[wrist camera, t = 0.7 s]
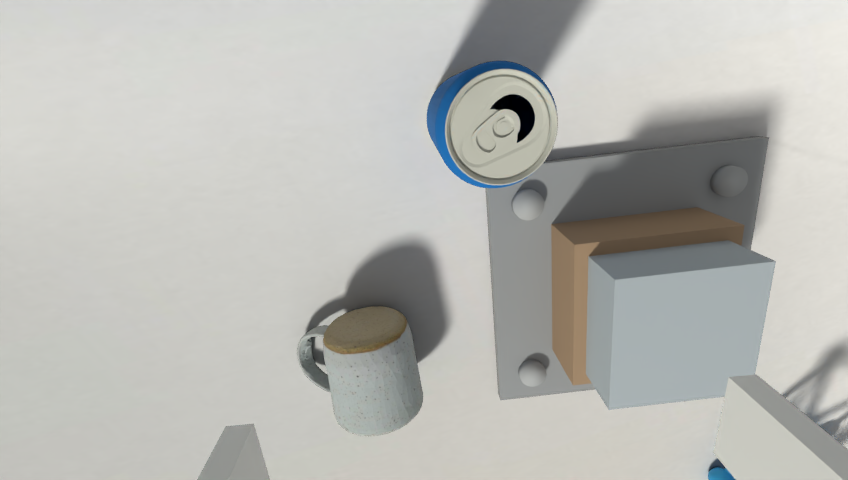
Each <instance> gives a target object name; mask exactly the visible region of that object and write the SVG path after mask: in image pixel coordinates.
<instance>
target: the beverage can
mask: <svg viewBox="0 0 848 480" xmlns="http://www.w3.org/2000/svg"><path fill="white" fill-rule="evenodd" d="M427 127H428V131H429V134H430V137H431V139H432V141H433V142H434V144H435V146H436V148H437V150H438V151H439V153H440V155H441V157H442V159H443V160H444V162H445V164H446V165H447V166H448V168H449V169H450V170H451V171H452V172H453V173H454V174H455V175H456V176H458V177H459V178H460V179H462V180H464V181H465V182H467V183H470V184H472V185H475V186H478V187H483V188H502V187H507V186H511V185H514V184H516V183H519V182H521V181H522V180H524V179H526V178H527V177H529V176H530V175H532V174H533V173H534V172H535V171H536V170H537V169H538V168H539V167H540V166H541V165H542V164H543V163H544V161H545V160H546V158H547V157H548V155H549V154H550V152H551V150H552V148H553V145H554V142H555V139H556V135H557V127H558V118H557V110H556V105H555V102H554V98H553V96H552V94H551V92H550V90H549V88H548V87H547V85H546V84H545V83H544V82H543V80H542V79H541V78H540V77H539V76H538V75H537V74H535V73H534V72H533V71H531V70H530V69H528V68H526V67H524V66H522V65H520V64H517V63H513V62H507V61H492V62H486V63H483V64H479V65H477V66H475V67H472V68H470V69H468V70H466V71H463V72H461V73H459V74H457V75H454V76H452V77H450V78H449V79H447V80H446V81H445V82H443V83H442V84H441V85H440V86H439V87H438V88H437V90H436V91H435V93H434V94H433V96H432V98H431V100H430V103H429V106H428V110H427Z"/></svg>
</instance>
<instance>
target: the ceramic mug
mask: <svg viewBox="0 0 848 480" xmlns="http://www.w3.org/2000/svg"><path fill="white" fill-rule="evenodd" d="M317 336H319V337H324V339H323V354H324V360H325V365H326V369H327V373H328V375H327V374H326V373H324V372H323V371H322V370H321V369H320V368H319V367H318V366H317V365H316V364H315V361H314V360H313V355H312V347H311V345H312V341H311V337H317ZM297 356H298V361H299V365H300V367H301V369H302V371H303V372H304V374H305V375H306V377H307V378H308V379H309V380H310V381H311V382H313V383H314V384H315V385H316V386H318V387H320V388H321V389H323V390H325V391H328V392H331V397H332V404H333V410H334V414H335V417H336V420H337V422H338V424H339V425H340V426H341V427H342V428H343V429H345V430H346V431H348V432H350V433H353V434H356V435H360V436H378V435H383V434H387V433H390V432H393V431H395V430H398V429H400V428H401V427H403V426H405V425H406V424H407V423H409V422H410V421H411V420H412V419H413V418H414V417H415V416H416V415H417V414H418V412H419V410H420V408H421V406H422V402H423V392H422V387H421V381H420V376H419V370H418V365H417V360H416V355H415V350H414V344H413V338H412V333H411V330H410V327H409V325H408V322H407V320H406V318H405V316H404V315H403V314H402V313H400V312H399V311H397V310H395V309H392V308H389V307H384V306H372V307H365V308H360V309H356V310H353V311H350V312H348V313H345V314H343V315H342V316H340V317H338V318H337V319H336V320H334V321H333V322H332V323H331V324H330V325H329V326H327V325H324V326H318V327H315V328H313V329H311V330H310V331H309V332H307V333H306V334H305V335H304V336H303V337H302V338H301V340H300V342H299V344H298V348H297Z"/></svg>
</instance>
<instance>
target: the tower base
mask: <svg viewBox="0 0 848 480" xmlns="http://www.w3.org/2000/svg"><path fill="white" fill-rule="evenodd" d="M768 139H769V138H767V137H759V136H758V137H750V138H741V139H732V140H724V141H715V142H706V143H698V144H689V145H680V146H672V147H663V148H655V149H646V150H637V151H629V152H620V153H611V154H603V155H594V156H585V157H577V158H568V159H560V160H551V161H544V163H543V164H542V165H541V166H540V167H539V168H538V169H537V170H536V171H535V172H534V173H533V174H532V175H530V176H529V177H527V178H526V179H524V180H522V181H521V182H519V183H516V184H514V185H511V186H507V187H502V188H486V200H487V217H488V233H489V249H490V266H491V282H492V298H493V314H494V331H495V347H496V363H497V380H498V394H499V397H500V400H507V399H515V398H524V397H533V396H542V395H550V394H559V393H568V392H576V391H585V390H594V389H596V390H597V392H598V394H599V395H600V397H601V398H602V400H603V401H604V403H605V405H606V406H607V408H608V409H609V410H611V409H620V408H629V407H638V406H646V405H655V404H664V403H672V402H681V401H690V400H699V399H707V398H716V397H725V392H726V388H727V383H728V378H729V377H735V376H745V375H755V371H756V366H757V360H758V355H759V349H760V344H761V339H762V333H763V328H764V322H765V317H766V311H767V306H768V301H769V295H770V290H771V284H772V279H773V273H774V268H775V262H776V261H774V260H772V259H769V258H767V257H765V256H763V255H760V254H758V253H756V252H754V251H752V250H751V244H752V238H753V232H754V226H755V220H756V213H757V207H758V201H759V195H760V188H761V182H762V176H763V170H764V164H765V157H766V151H767V145H768Z"/></svg>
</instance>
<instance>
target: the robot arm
mask: <svg viewBox="0 0 848 480" xmlns="http://www.w3.org/2000/svg"><path fill="white" fill-rule="evenodd" d="M713 453H714V454H715V456H716V457H717V458H718V459H719V460H720V461H721V463H722V464H723V465H724V466H725V467H726V469H727V470H728V471H729V472H730V473H731V475H732V476H733V477H734V478H735V479H736V480H848V449H847V448H846V447H844V446H843V445H842V444H841V443H839V442H838V441H837V440H836V439H834V438H833V437H832V436H831V435H830V434H828V433H827V432H826V431H825V430H823V429H822V428H821V427H820V426H819V425H817V424H816V423H815V422H814V421H812V420H811V419H810V418H809V417H808V416H806V415H805V414H804V413H803V412H801V411H800V410H799V409H798V408H797V407H795V406H794V405H793V404H792V403H790V402H789V401H788V400H787V399H786V398H784V397H783V396H782V395H781V394H779V393H778V392H777V391H776V390H775V389H773V388H772V387H771V386H770V385H768V384H767V383H766V382H765V381H764V380H762V379H761V378H760V377H759V376H757V375H756V374H755V375H745V376H735V377H729V378H728V383H727V388H726V392H725V397H724V402H723V407H722V412H721V417H720V422H719V427H718V432H717V437H716V442H715V446H714V451H713ZM197 480H270V478H269V475H268V471H267V468H266V464H265V461H264V458H263V454H262V451H261V447H260V444H259V440H258V437H257V434H256V430H255V427H254V424H247V425H237V426H226V427H225V429H224V431H223V433H222V434H221V436H220V438H219V440H218V442H217V444H216V446H215V448H214V449H213V451H212V453H211V455H210V457H209V459H208V461H207V462H206V464H205V466H204V468H203V470H202V472H201V474H200V476H199V477H198V479H197Z"/></svg>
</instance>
